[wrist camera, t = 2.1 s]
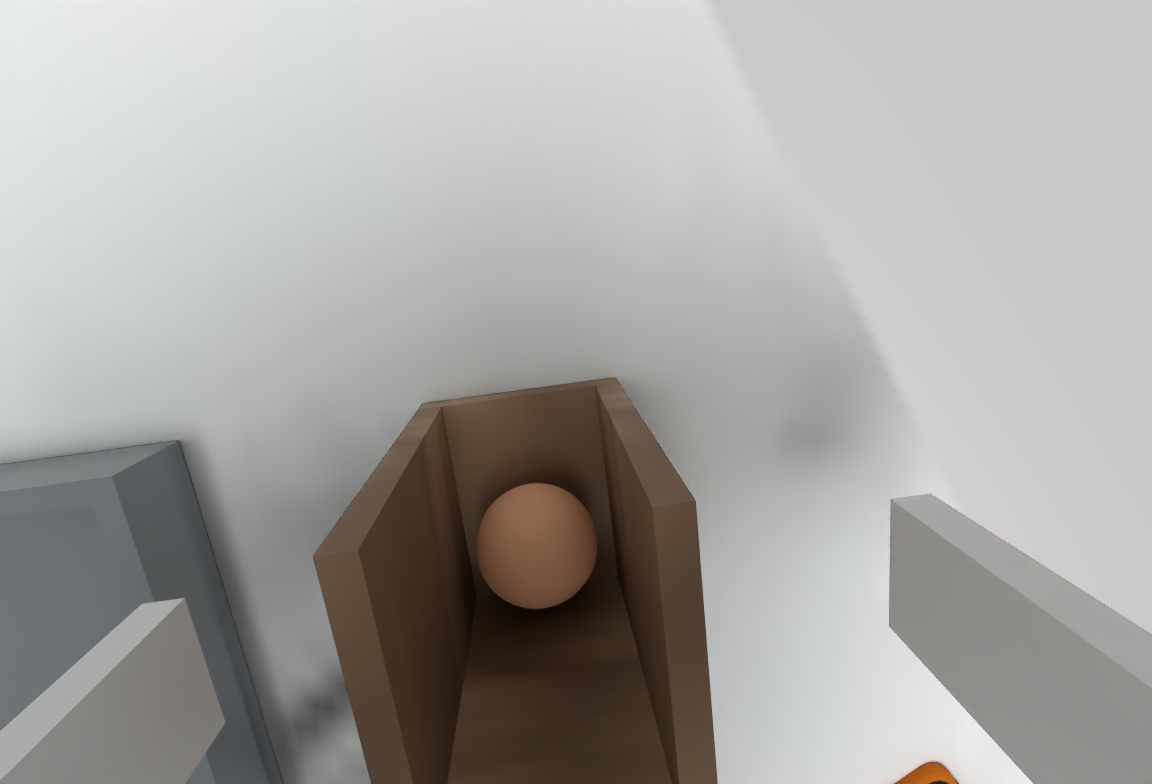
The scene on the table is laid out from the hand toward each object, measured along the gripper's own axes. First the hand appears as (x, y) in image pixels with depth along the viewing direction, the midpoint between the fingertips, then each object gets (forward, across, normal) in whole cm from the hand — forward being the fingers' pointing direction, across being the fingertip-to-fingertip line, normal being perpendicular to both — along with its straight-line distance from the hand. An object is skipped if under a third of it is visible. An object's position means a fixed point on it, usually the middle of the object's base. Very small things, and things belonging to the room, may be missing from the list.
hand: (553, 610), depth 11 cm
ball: (+5, 0, -1) cm, 5 cm away
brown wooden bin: (+6, 0, 0) cm, 6 cm away
